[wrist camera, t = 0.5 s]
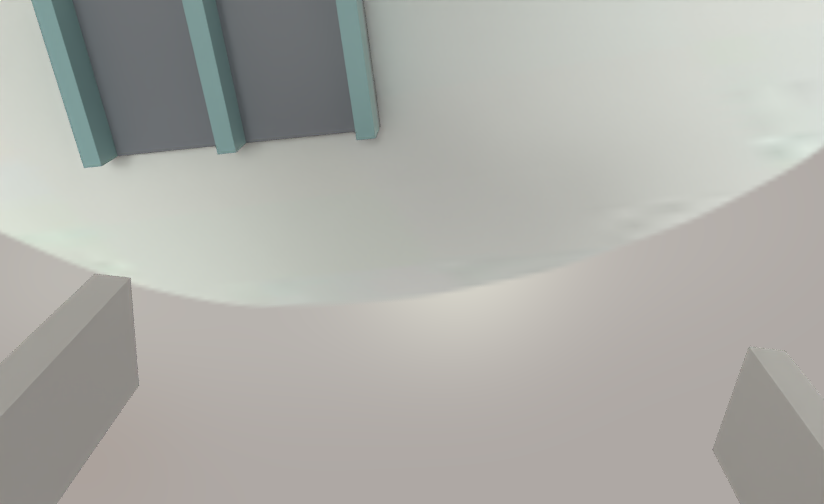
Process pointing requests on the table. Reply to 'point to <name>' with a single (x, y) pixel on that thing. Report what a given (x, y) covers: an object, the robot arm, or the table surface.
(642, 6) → the table surface
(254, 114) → the teal-ribbed grey panel
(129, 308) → the robot arm
